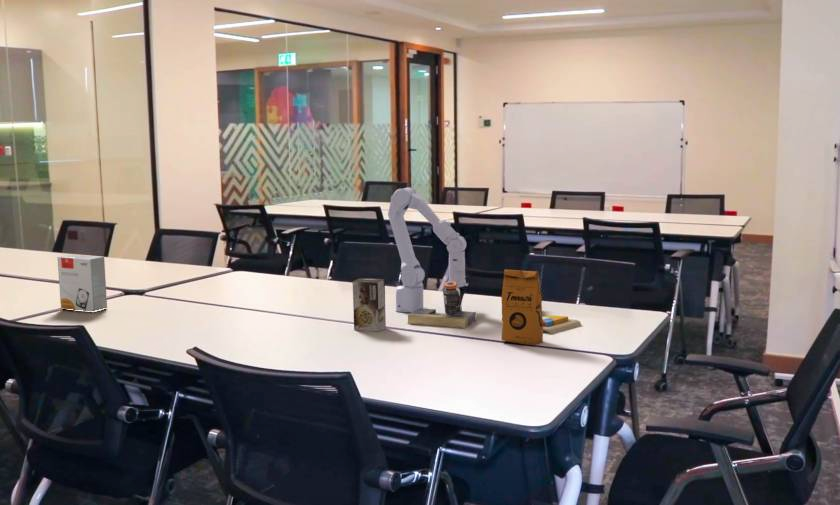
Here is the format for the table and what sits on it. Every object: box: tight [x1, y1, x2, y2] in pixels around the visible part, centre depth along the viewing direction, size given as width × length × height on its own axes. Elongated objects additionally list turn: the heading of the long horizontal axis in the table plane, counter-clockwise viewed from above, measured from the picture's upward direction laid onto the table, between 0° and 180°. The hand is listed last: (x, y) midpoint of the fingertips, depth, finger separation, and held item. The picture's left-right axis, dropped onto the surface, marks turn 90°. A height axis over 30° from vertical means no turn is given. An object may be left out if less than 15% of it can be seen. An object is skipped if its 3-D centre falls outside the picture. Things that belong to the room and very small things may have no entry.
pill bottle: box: [442, 281, 463, 316], centre depth 279 cm, size 6×6×11 cm
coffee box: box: [351, 278, 387, 332], centre depth 260 cm, size 9×6×16 cm
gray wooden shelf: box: [407, 308, 476, 329], centre depth 270 cm, size 20×11×3 cm, turn 69°
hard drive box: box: [57, 254, 108, 311], centre depth 294 cm, size 16×8×20 cm, turn 68°
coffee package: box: [501, 269, 544, 346], centre depth 241 cm, size 10×12×22 cm
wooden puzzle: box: [542, 313, 582, 335], centre depth 264 cm, size 18×19×4 cm
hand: (457, 308), depth 284 cm, fingers closed
